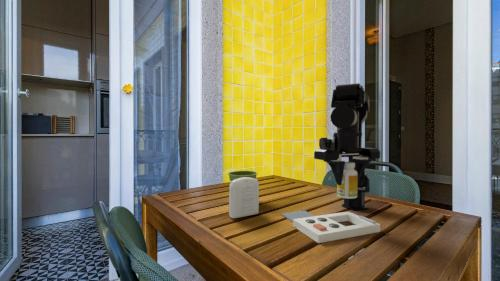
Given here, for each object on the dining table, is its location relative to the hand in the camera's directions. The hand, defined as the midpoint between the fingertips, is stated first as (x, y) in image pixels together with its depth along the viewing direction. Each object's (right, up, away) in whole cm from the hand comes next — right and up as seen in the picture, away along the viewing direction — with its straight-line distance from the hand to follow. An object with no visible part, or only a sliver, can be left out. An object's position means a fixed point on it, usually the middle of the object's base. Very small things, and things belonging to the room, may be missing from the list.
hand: (347, 184), depth 71 cm
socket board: (-4, -12, -1) cm, 13 cm away
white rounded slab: (-30, -12, +11) cm, 34 cm away
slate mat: (-12, -12, +8) cm, 19 cm away
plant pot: (-30, -12, +27) cm, 43 cm away
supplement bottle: (0, -4, 0) cm, 4 cm away
